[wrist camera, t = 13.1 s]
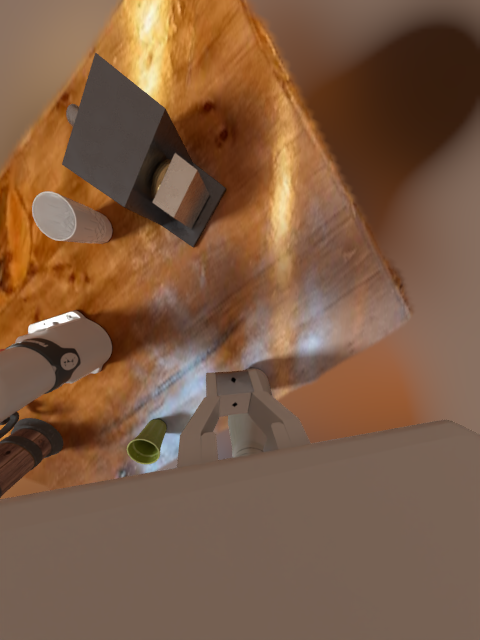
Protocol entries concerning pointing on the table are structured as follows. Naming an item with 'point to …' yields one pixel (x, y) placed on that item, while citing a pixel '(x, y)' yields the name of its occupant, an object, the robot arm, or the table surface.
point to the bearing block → (130, 148)
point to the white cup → (69, 220)
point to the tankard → (25, 448)
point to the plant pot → (148, 443)
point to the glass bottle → (247, 428)
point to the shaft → (172, 185)
